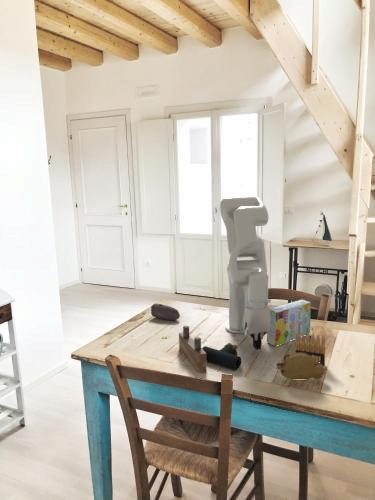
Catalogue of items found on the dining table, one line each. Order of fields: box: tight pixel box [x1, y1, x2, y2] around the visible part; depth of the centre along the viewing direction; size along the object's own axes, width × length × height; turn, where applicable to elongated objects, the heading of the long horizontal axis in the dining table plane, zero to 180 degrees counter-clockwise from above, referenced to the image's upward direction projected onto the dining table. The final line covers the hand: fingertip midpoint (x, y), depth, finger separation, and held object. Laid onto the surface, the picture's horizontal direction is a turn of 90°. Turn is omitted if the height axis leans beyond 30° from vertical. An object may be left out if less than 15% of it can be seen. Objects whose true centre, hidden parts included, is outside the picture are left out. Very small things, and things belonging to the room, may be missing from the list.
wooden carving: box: [275, 352, 327, 380], centre depth 138 cm, size 16×5×10 cm, turn 91°
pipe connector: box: [201, 342, 242, 371], centre depth 153 cm, size 12×5×15 cm
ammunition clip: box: [294, 332, 326, 366], centre depth 148 cm, size 11×2×12 cm, turn 69°
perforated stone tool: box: [150, 303, 181, 321], centre depth 197 cm, size 15×5×7 cm, turn 63°
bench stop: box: [178, 325, 207, 374], centre depth 153 cm, size 3×21×11 cm, turn 20°
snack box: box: [266, 299, 312, 347], centre depth 170 cm, size 21×6×15 cm, turn 124°
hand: (257, 348), depth 160 cm, fingers closed
